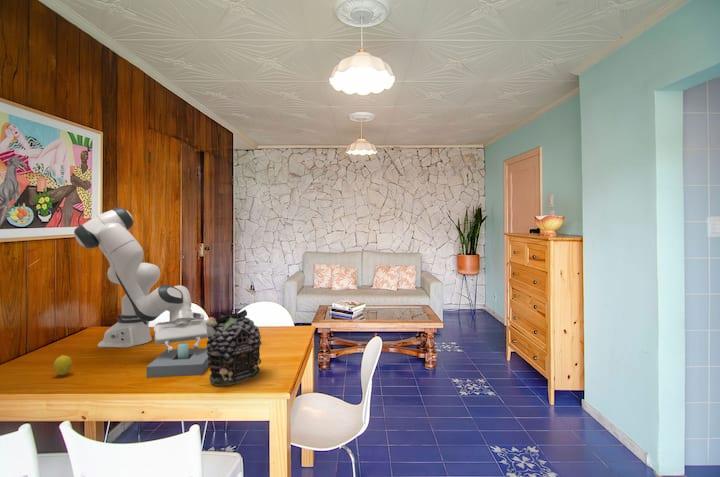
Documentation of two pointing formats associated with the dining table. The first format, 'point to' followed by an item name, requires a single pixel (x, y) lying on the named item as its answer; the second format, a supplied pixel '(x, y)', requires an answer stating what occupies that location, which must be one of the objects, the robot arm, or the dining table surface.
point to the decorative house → (232, 348)
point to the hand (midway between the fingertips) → (183, 349)
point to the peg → (183, 351)
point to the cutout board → (179, 364)
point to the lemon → (62, 365)
